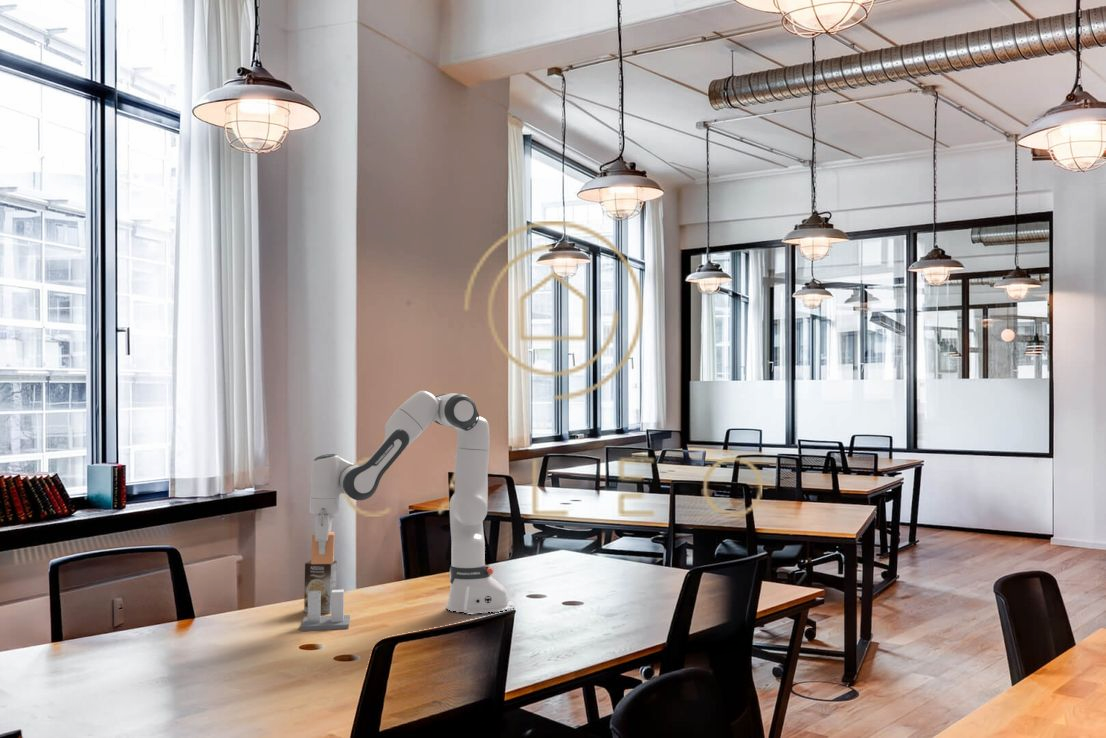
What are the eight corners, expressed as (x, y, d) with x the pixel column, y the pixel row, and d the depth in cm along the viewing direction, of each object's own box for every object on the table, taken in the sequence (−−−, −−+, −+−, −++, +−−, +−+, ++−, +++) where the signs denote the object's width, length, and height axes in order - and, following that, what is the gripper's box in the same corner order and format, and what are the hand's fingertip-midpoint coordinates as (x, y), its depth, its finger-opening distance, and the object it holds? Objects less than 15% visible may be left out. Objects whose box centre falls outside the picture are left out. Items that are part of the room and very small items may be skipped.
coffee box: (302, 612, 291) (303, 563, 292) (310, 608, 298) (310, 559, 298) (330, 613, 290) (330, 563, 291) (337, 608, 297) (337, 560, 297)
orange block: (333, 560, 280) (334, 531, 280) (332, 563, 274) (333, 534, 274) (312, 560, 279) (313, 531, 279) (311, 564, 272) (312, 535, 273)
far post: (320, 623, 277) (320, 590, 278) (319, 626, 274) (320, 592, 274) (308, 624, 277) (308, 590, 277) (307, 626, 273) (307, 593, 274)
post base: (349, 618, 283) (350, 586, 283) (348, 628, 271) (348, 594, 272) (304, 620, 281) (304, 588, 281) (300, 630, 269) (300, 596, 269)
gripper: (333, 511, 267) (331, 557, 267) (336, 503, 287) (334, 546, 287) (311, 510, 266) (309, 557, 265) (316, 503, 286) (314, 546, 285)
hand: (322, 551), depth 276 cm, fingers closed on orange block, 6 cm apart
